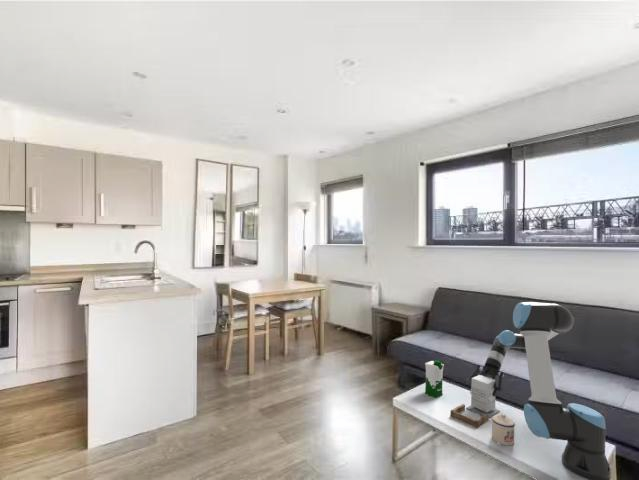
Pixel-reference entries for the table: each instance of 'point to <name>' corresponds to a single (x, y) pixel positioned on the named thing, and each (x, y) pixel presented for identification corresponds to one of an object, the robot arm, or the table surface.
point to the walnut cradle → (475, 423)
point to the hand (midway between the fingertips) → (480, 397)
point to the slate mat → (476, 410)
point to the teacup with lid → (503, 429)
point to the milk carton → (434, 378)
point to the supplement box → (482, 393)
